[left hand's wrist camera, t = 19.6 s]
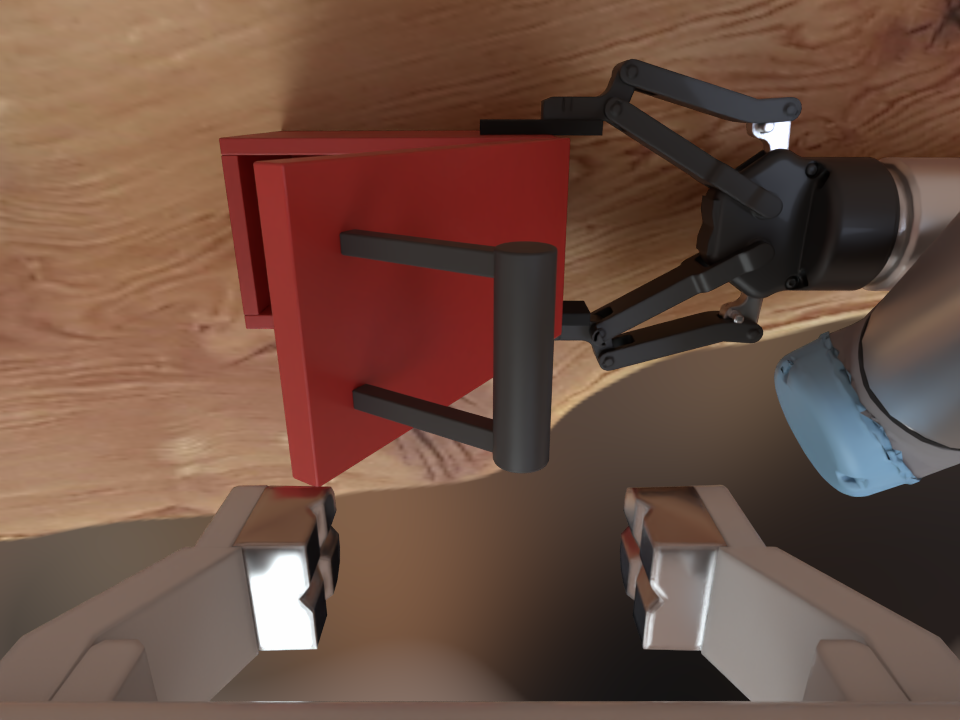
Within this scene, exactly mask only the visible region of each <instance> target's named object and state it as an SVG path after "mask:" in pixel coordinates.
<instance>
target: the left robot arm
mask: <svg viewBox="0 0 960 720" xmlns="http://www.w3.org/2000/svg"><path fill="white" fill-rule="evenodd" d="M335 513H336V503H335V495H334V491H333V489H332V488H331V487H317V486H267V485H242V486H237V487H234V488H233V489H232V490H231V491H230V493H229V494H228V496H227V497H226V499H225V500H224V502H223V503H222V505H221V506H220V508H219V510H218V511H217V513H216V514H215V516H214V517H213V519H212V520H211V522H210V523H209V525H208V526H207V528H206V529H205V531H204V532H203V534H202V535H201V537H200V538H199V540H198V541H197V543H196V544H195V546H194V547H183V548H181V549H180V550H178V551H176V552H174V553H172V554H170V555H169V556H167V557H165V558H163V559H161V560H160V561H158V562H156V563H154V564H152V565H151V566H149V567H147V568H145V569H143V570H141V571H140V572H138V573H136V574H134V575H132V576H131V577H129V578H127V579H125V580H123V581H122V582H120V583H118V584H116V585H114V586H112V587H111V588H109V589H107V590H105V591H103V592H102V593H100V594H98V595H96V596H94V597H92V598H91V599H89V600H87V601H85V602H83V603H82V604H80V605H78V606H76V607H74V608H73V609H71V610H69V611H67V612H65V613H64V614H62V615H60V616H58V617H56V618H54V619H53V620H51V621H49V622H47V623H45V624H44V625H42V626H40V627H38V628H36V629H34V630H33V631H31V632H29V633H27V634H25V635H24V636H22V637H21V638H20V639H19V640H18V641H17V642H16V644H15V645H14V646H13V647H12V648H11V649H10V650H9V652H8V653H7V654H6V655H5V656H4V657H3V658H2V660H1V661H0V720H960V660H959V659H958V658H957V657H956V656H955V655H954V653H953V652H952V651H951V650H950V649H949V648H948V647H947V645H946V644H945V643H944V642H943V641H942V640H941V639H940V637H938V636H936V635H934V634H932V633H930V632H929V631H927V630H925V629H923V628H921V627H920V626H918V625H916V624H914V623H912V622H911V621H909V620H907V619H905V618H903V617H901V616H900V615H898V614H896V613H894V612H893V611H891V610H889V609H887V608H885V607H883V606H882V605H880V604H878V603H876V602H874V601H873V600H871V599H869V598H867V597H865V596H864V595H862V594H860V593H858V592H856V591H855V590H853V589H851V588H849V587H847V586H846V585H844V584H842V583H840V582H838V581H836V580H835V579H833V578H831V577H829V576H827V575H826V574H824V573H822V572H820V571H818V570H817V569H815V568H813V567H811V566H809V565H807V564H806V563H804V562H802V561H800V560H799V559H797V558H795V557H793V556H791V555H789V554H788V553H786V552H784V551H782V550H780V549H779V548H777V547H766V546H765V544H764V543H763V541H762V540H761V538H760V537H759V535H758V534H757V532H756V531H755V529H754V528H753V527H752V525H751V524H750V522H749V520H748V519H747V517H746V516H745V515H744V513H743V512H742V510H741V509H740V507H739V506H738V504H737V503H736V501H735V500H734V498H733V497H732V495H731V494H730V492H729V491H728V489H727V488H726V487H724V486H722V485H705V486H680V487H641V488H627V491H626V495H625V502H624V513H625V516H626V519H627V522H628V525H629V526H628V527H627V528H626V529H625V530H624V532H623V533H622V534H621V545H620V562H621V573H622V579H623V583H624V587H625V590H626V594H627V595H629V596H630V597H631V598H632V599H634V609H633V617H634V620H635V623H636V627H637V630H638V633H639V636H640V639H641V643H642V646H643V649H664V650H700V651H702V652H701V653H702V654H703V655H704V656H705V657H706V658H707V659H708V660H709V661H710V662H711V663H712V664H713V665H714V666H715V667H716V668H717V669H718V670H719V671H720V672H722V674H724V675H725V676H726V677H727V678H728V679H729V680H730V681H731V682H732V683H733V684H734V685H735V686H736V687H737V688H738V689H739V690H740V691H741V692H742V693H743V694H744V695H745V696H746V697H747V698H749V699H750V700H751V701H443V702H442V701H432V702H431V701H425V702H424V701H418V702H417V701H407V702H405V701H401V702H400V701H210V700H211V699H212V698H213V697H214V696H215V695H216V694H217V693H218V692H219V691H220V690H221V689H222V688H223V687H224V686H225V685H226V684H227V683H228V682H229V681H231V680H232V679H233V678H234V677H235V676H236V675H237V674H238V673H239V672H240V671H241V670H242V669H243V668H244V667H245V666H246V665H247V664H248V663H249V662H250V661H251V660H252V659H253V658H255V657H256V656H257V655H258V651H260V650H294V649H317V646H318V643H319V640H320V636H321V633H322V630H323V627H324V623H325V620H326V617H327V609H326V599H328V598H329V597H330V596H331V595H333V594H334V590H335V587H336V583H337V579H338V572H339V564H340V543H339V534H338V533H337V532H336V530H335V529H334V528H333V527H332V526H331V524H332V522H333V519H334V516H335Z"/></svg>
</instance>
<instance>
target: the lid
mask: <svg viewBox="0 0 960 720" xmlns="http://www.w3.org/2000/svg"><path fill="white" fill-rule="evenodd" d="M569 156H570V138H557V137H548V138H535V139H523V140H511V141H498V142H486V143H474V144H462V145H449V146H437V147H425V148H413V149H400V150H388V151H376V152H364V153H351V154H339V155H327V156H315V157H302V158H290V159H278V160H265V161H256V162H254V164H253V166H254V174H255V182H256V190H257V197H258V205H259V213H260V221H261V229H262V237H263V245H264V253H265V261H266V268H267V276H268V284H269V292H270V300H271V308H272V316H273V324H274V331H275V339H276V347H277V355H278V363H279V371H280V379H281V387H282V395H283V402H284V410H285V418H286V426H287V434H288V442H289V450H290V458H291V466H292V473H293V477H294V478H295V479H298V480H300V481H302V482H305V483H307V484H310V485H312V486H317V487H320V486H322V485H323V484H325V483H327V482H328V481H330V480H331V479H333V478H335V477H336V476H338V475H339V474H341V473H342V472H344V471H346V470H347V469H349V468H350V467H352V466H354V465H355V464H357V463H358V462H360V461H362V460H363V459H365V458H366V457H368V456H369V455H371V454H373V453H374V452H376V451H377V450H379V449H381V448H382V447H384V446H385V445H387V444H388V443H390V442H392V441H393V440H395V439H396V438H398V437H400V436H401V435H403V434H404V433H406V432H407V431H409V430H411V429H412V428H417V429H420V430H423V431H426V432H429V433H433V434H436V435H439V436H442V437H445V438H449V439H452V440H455V441H458V442H461V443H464V444H468V445H471V446H474V447H477V448H480V449H484V450H487V451H490V452H493V460H494V462H495V464H496V465H497V466H498V467H500V468H501V469H503V470H506V471H509V472H514V473H531V472H535V471H538V470H541V469H542V468H544V467H545V466H546V465H547V463H548V461H549V448H550V424H551V399H552V375H553V351H554V339H555V338H556V337H558V336H560V335H561V331H562V309H563V287H564V265H565V243H566V222H567V200H568V178H569ZM491 378H493V419H490V418H486V417H483V416H479V415H476V414H472V413H469V412H465V411H461V410H458V409H454V408H451V407H447V406H449V405H450V404H452V403H453V402H455V401H457V400H458V399H460V398H461V397H463V396H465V395H466V394H468V393H469V392H471V391H472V390H474V389H476V388H477V387H479V386H480V385H482V384H484V383H485V382H487V381H488V380H490V379H491Z"/></svg>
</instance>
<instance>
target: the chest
mask: <svg viewBox="0 0 960 720" xmlns="http://www.w3.org/2000/svg"><path fill="white" fill-rule="evenodd" d="M548 137H555V136H553V135H480V130H476V131H278V132H269V133H260V134H251V135H242V136H233V137H224V138H220V139H219V142H220V149H221V154H222V156H221V157H222V164H223V171H224V178H225V185H226V192H227V199H228V206H229V213H230V220H231V227H232V234H233V241H234V248H235V255H236V262H237V269H238V276H239V283H240V290H241V297H242V304H243V311H244V315H245V323H246V328H247V329H274V324H273V316H272V308H271V300H270V292H269V284H268V276H267V268H266V261H265V253H264V245H263V237H262V229H261V221H260V213H259V205H258V197H257V190H256V182H255V174H254V166H253V164H254V162H256V161H265V160H278V159H290V158H302V157H315V156H327V155H339V154H351V153H364V152H376V151H388V150H400V149H413V148H425V147H437V146H449V145H462V144H474V143H486V142H498V141H511V140H523V139H535V138H548ZM557 138H558V137H557Z"/></svg>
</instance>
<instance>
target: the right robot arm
mask: <svg viewBox="0 0 960 720" xmlns="http://www.w3.org/2000/svg"><path fill="white" fill-rule="evenodd" d="M634 91H637V92H640V93H643V94H647V95H650V96H653V97H656V98H659V99H662V100H665V101H668V102H672V103H675V104H678V105H681V106H684V107H687V108H690V109H693V110H696V111H700V112H703V113H706V114H709V115H712V116H715V117H718V118H721V119H724V120H728V121H732V122H741V123H746V131H747V133H748V135H749V136H751V137H754V138H758V139H760V140H761V141H762V143H763V146H764V150H762V151H760V152H759V153H757V154H756V155H754V156H753V157H752V158H750V159H749V160H747V161H746V162H744V163H743V164H741V165H740V166H738V167H737V168H735V169H733V168H731V167H730V166H728V165H727V164H725V163H723V162H721V161H719V160H717V159H715V158H714V157H712V156H711V155H709V154H708V153H706V152H705V151H703V150H701V149H700V148H698V147H697V146H695V145H694V144H692V143H691V142H689V141H688V140H686V139H684V138H683V137H681V136H680V135H678V134H677V133H675V132H674V131H672V130H671V129H669V128H668V127H666V126H664V125H663V124H661V123H660V122H658V121H657V120H655V119H654V118H652V117H651V116H649V115H647V114H646V113H644V112H643V111H641V110H640V109H638V108H637V107H635V106H634V105H632V104H630V103H629V102H630V100H631V97H632V95H633V93H634ZM801 109H802V107H801V103H800V101H799V100H798V99H797V98H793V97H784V98H765V99H756V98H753V97H750V96H747V95H744V94H741V93H737V92H734V91H731V90H728V89H725V88H722V87H719V86H716V85H713V84H710V83H707V82H704V81H701V80H698V79H694V78H691V77H688V76H685V75H682V74H679V73H676V72H673V71H670V70H667V69H664V68H661V67H658V66H655V65H652V64H648V63H645V62H642V61H639V60H636V59H630V60H626V61H624V62H621V63H618V64H617V65H616V66H615V67H614V68H613V70H612V76H611V79H610V81H609V84H608V86H607V88H606V90H605V91H604V92H603V93H602V94H601V95H600V96H597V97H550V98H548V99H545V100H543V101H541V120H530V119H480V135H602V132H603V121H606V122H607V123H609V124H611V125H612V126H614V127H615V128H617V129H618V130H620V131H622V132H623V133H625V134H626V135H628V136H629V137H631V138H633V139H634V140H636V141H637V142H639V143H640V144H642V145H644V146H645V147H647V148H648V149H650V150H651V151H653V152H655V153H656V154H658V155H659V156H661V157H662V158H664V159H666V160H667V161H669V162H670V163H672V164H673V165H675V166H677V167H678V168H680V169H681V170H683V171H684V172H686V173H688V174H689V175H690V176H692V177H693V178H694V179H696V180H697V181H699V182H700V183H702V184H704V185H705V186H707V187H708V188H710V189H709V190H708V192H707V194H706V196H702V204H701V213H702V220H703V223H702V226H701V228H700V231H699V233H698V237H697V245H696V248H697V249H698V250H699V253H697V254H695V255H694V256H692V257H690V258H688V259H686V260H684V261H683V262H682V263H681V265H680V266H678V267H677V268H675V269H673V270H671V271H669V272H667V273H665V274H663V275H662V276H660V277H658V278H656V279H654V280H652V281H650V282H648V283H646V284H645V285H643V286H641V287H639V288H637V289H635V290H633V291H631V292H629V293H627V294H626V295H624V296H622V297H620V298H618V299H616V300H614V301H612V302H610V303H609V304H607V305H605V306H603V307H601V308H599V309H597V310H595V311H593V312H592V313H590V312H589V310H588V308H587V306H586V304H585V302H584V301H563V309H562V331H561V335H560V336H558V337H556V338H555V339H554V340H583V341H587V342H589V343H590V344H591V345H592V348H593V352H594V354H595V356H596V358H597V361H598V363H599V365H600V367H601V368H602V369H603V370H606V371H610V370H614V369H618V368H622V367H626V366H630V365H634V364H638V363H642V362H645V361H649V360H653V359H657V358H661V357H665V356H669V355H672V354H676V353H680V352H684V351H688V350H692V349H696V348H699V347H703V346H707V345H711V344H715V343H719V342H723V341H726V342H741V343H755V342H757V341H759V340H760V339H761V338H762V335H763V329H762V327H761V326H759V325H758V324H757V322H758V318H759V314H760V309H761V305H762V301H763V298H765V297H768V296H770V295H772V294H774V293H776V292H779V291H784V290H847V291H850V290H857V289H860V288H864V289H866V290H872V291H890V292H889V293H888V294H887V295H886V296H885V297H884V298H883V299H882V300H881V301H880V302H879V303H878V304H877V305H876V306H875V307H874V308H873V309H872V310H871V311H870V312H869V313H868V314H867V315H866V317H865V318H863V319H862V320H860V321H858V322H856V323H854V324H852V325H850V326H847V327H845V328H842V329H840V330H837V331H835V332H832V333H830V334H829V331H828V332H825V333H823V334H821V335H820V336H819V338H818V339H816V340H814V341H812V342H810V343H808V344H806V345H804V346H802V347H800V348H798V349H796V350H794V351H792V352H791V353H789V354H787V355H785V356H784V357H783V358H782V359H781V360H780V361H779V362H778V364H777V366H776V369H775V375H774V379H775V388H776V392H777V396H778V399H779V402H780V405H781V407H782V410H783V412H784V415H785V417H786V419H787V421H788V423H789V425H790V427H791V429H792V431H793V433H794V435H795V437H796V439H797V440H798V442H799V444H800V446H801V447H802V449H803V451H804V452H805V454H806V455H807V457H808V458H809V460H810V461H811V463H812V464H813V465H814V467H815V468H816V469H817V471H818V472H819V473H820V474H821V476H822V477H823V478H824V479H825V480H826V481H827V482H828V483H829V484H830V485H832V486H833V487H834V488H836V489H837V490H838V491H840V492H842V493H844V494H847V495H850V496H855V497H860V496H868V495H871V494H874V493H877V492H880V491H883V490H886V489H889V488H892V487H895V486H898V485H902V484H910V485H911V484H914V483H916V482H919V480H921V479H922V478H921V477H924V476H926V475H929V474H932V473H934V472H937V471H940V470H942V469H945V468H948V467H951V466H954V465H956V464H959V463H960V158H941V157H889V158H882V159H880V160H876V159H874V158H871V157H801V156H798V155H796V154H795V153H793V152H792V151H790V150H788V147H789V137H790V127H791V121H793V120H795V119H796V118H797V117H798V116H799V115H800V113H801ZM727 282H730V283H731V284H732V285H733V286H735V287H736V288H737V289H738V290H740V291H741V295H740V297H739V298H738V299H737V300H736V301H734V302H729V303H726V304H723V305H722V306H721V309H720V311H708V312H703V313H698V314H694V315H691V316H687V317H683V318H679V319H676V320H672V321H668V322H664V323H660V324H657V325H653V326H649V327H645V328H642V329H638V330H634V331H630V332H626V333H623V332H625V331H627V330H629V329H631V328H633V327H635V326H637V325H638V324H640V323H642V322H644V321H646V320H648V319H650V318H652V317H654V316H656V315H658V314H660V313H662V312H664V311H666V310H668V309H669V308H671V307H673V306H675V305H677V304H679V303H681V302H683V301H685V300H687V299H689V298H691V297H693V296H695V295H697V294H699V293H704V292H709V291H711V290H713V289H715V288H717V287H719V286H721V285H723V284H725V283H727ZM621 333H623V334H621Z"/></svg>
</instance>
